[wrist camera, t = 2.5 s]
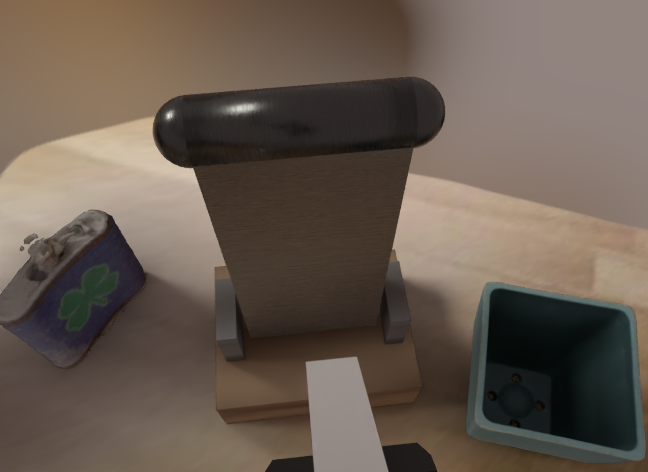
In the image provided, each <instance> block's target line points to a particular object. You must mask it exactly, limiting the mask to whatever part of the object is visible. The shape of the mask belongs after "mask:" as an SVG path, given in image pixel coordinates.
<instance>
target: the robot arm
mask: <svg viewBox="0 0 648 472" xmlns="http://www.w3.org/2000/svg"><path fill="white" fill-rule="evenodd" d="M306 371H307V384H308V397H309V410H310V423H311V436H312V448H313V456H305V457H296V458H287V459H278V460H272V461H271V463H270V465H269V466H268V468H267V470H266V471H265V472H437V469H436V466H435V464H434V462H433V459H432V457H431V455H430V454H429V453H428V452H427V451H426V450H425V449H424V448H422V447H421V446H420V445H419V444H418V443H409V444H400V445H391V446H382V447H381V443H380V439H379V436H378V432H377V428H376V425H375V421H374V417H373V414H372V410H371V407H370V403H369V399H368V396H367V392H366V388H365V385H364V381H363V377H362V374H361V370H360V366H359V363H358V359H357V357H348V358H338V359H329V360H319V361H309V362H306Z"/></svg>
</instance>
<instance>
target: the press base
mask: <svg viewBox="0 0 648 472" xmlns="http://www.w3.org/2000/svg"><path fill="white" fill-rule="evenodd" d="M410 321H411V318H410V313H409V308H408V303H407V298H406V293H405V288H404V283H403V279H402V274H401V269H400V264H399V261H397V257H396V252H395V250H392V252H391V256H390V261H389V266H388V270H387V275H386V280H385V285H384V289H383V294H382V299H381V304H380V308H379V313H378V318H377V322H376V325H374V326H365V327H355V328H346V329H336V330H327V331H317V332H308V333H298V334H289V335H279V336H270V337H260V338H251V337H250V334H249V331H248V328H247V325H246V322H245V319H244V316H243V314H242V311H241V308H240V305H239V302H238V299H237V296H236V293H235V290H234V287H233V284H232V281H231V278H230V275H229V272H228V269H227V266H222V267H215V338H216V410H217V411H218V413H219V414H220V416H221V417H222V418H223V420H224V421H225V422H226V424H227V423H236V422H244V421H253V420H262V419H271V418H280V417H289V416H297V415H306V414H310V410H309V397H308V384H307V371H306V362H309V361H319V360H329V359H338V358H348V357H357V359H358V363H359V366H360V370H361V374H362V377H363V381H364V385H365V388H366V392H367V396H368V399H369V403H370V407H377V406H386V405H395V404H403V403H412V402H414V401H415V399H416V397H417V395H418V394H419V392H420V390H421V388H422V383H421V378H420V373H419V368H418V363H417V358H416V353H415V348H414V343H413V338H412V333H411V328H410Z"/></svg>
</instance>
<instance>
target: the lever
mask: <svg viewBox="0 0 648 472" xmlns="http://www.w3.org/2000/svg"><path fill="white" fill-rule="evenodd" d="M444 119H445V105H444V100H443V98H442V96H441V94H440V92H439V91H438V90H437V88H436V87H435V86H434V85H432V84H431V83H430V82H428V81H426V80H424V79H422V78H417V77H399V78H386V79H375V80H361V81H351V82H350V81H349V82H338V83H325V84H313V85H300V86H288V87H276V88H265V89H251V90H240V91H227V92H215V93H203V94H190V95H182V96H178V97H175V98H173V99H171V100H169V101H168V102H166V103H165V104H164V105H163V106H162V107H161V108H160V109H159V111H158V113H157V114H156V116H155V119H154V123H153V137H154V141H155V144H156V146H157V148H158V150H159V151H160V153H161V154H162V155H163V156H164V157H165V158H166V159H167V160H169V161H170V162H172V163H173V164H175V165H178V166H180V167H185V168H193V169H194V171H195V174H196V177H197V180H198V183H199V186H200V189H201V192H202V195H203V198H204V201H205V204H206V207H207V210H208V213H209V216H210V219H211V222H212V225H213V228H214V231H215V234H216V237H217V240H218V243H219V245H220V248H221V251H222V254H223V257H224V260H225V263H226V266H227V269H228V272H229V275H230V278H231V281H232V284H233V287H234V290H235V293H236V296H237V299H238V302H239V305H240V308H241V311H242V314H243V316H244V319H245V322H246V325H247V328H248V331H249V334H250V337H251V338H260V337H270V336H279V335H289V334H298V333H308V332H317V331H327V330H336V329H346V328H355V327H365V326H374V325H376V322H377V318H378V313H379V308H380V304H381V299H382V294H383V289H384V285H385V280H386V275H387V270H388V266H389V261H390V256H391V252H392V247H393V242H394V237H395V233H396V228H397V223H398V218H399V214H400V209H401V204H402V200H403V195H404V190H405V185H406V181H407V176H408V171H409V166H410V162H411V157H412V152H413V148H418V147H421V146H424V145H426V144H427V143H429V142H430V141H432V140H433V139H434V138H435V137H436V136H437V134H438V133H439V131H440V130H441V128H442V125H443V122H444Z"/></svg>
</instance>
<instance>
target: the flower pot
mask: <svg viewBox="0 0 648 472" xmlns="http://www.w3.org/2000/svg"><path fill="white" fill-rule="evenodd" d="M638 356H639V354H638V340H637V323H636V316H635V313H634V311H633V309H632V308H631V307H630V306H626V305H622V304H618V303H611V302H606V301H599V300H593V299H587V298H580V297H574V296H568V295H563V294H558V293H552V292H546V291H541V290H535V289H529V288H524V287H519V286H514V285H510V284H505V283H500V282H488V283H486V284H485V286H484V289H483V292H482V296H481V299H480V303H479V306H478V310H477V314H476V318H475V322H474V330H473V343H472V356H471V370H470V383H469V395H468V407H467V418H466V432H467V434H468V435H469V436H470V437H471V438H474V439H477V440H482V441H487V442H492V443H496V444H501V445H506V446H510V447H515V448H520V449H525V450H529V451H534V452H539V453H543V454H548V455H553V456H557V457H562V458H566V459H571V460H575V461H580V462H584V463H592V464H602V463H619V462H632V461H641V460H643V459H644V457H645V453H646V440H645V430H644V419H643V411H642V398H641V386H640V373H639V357H638ZM514 375H517V376H518V377H519V378H520V380H519V382H514V381H513V379H512V377H513V376H514ZM489 393H493V394H494V395H495V399H494V400H490V399H489V397H488V394H489ZM536 402H540V403H541V404H542V405H543V408H542V409H541V410H538V409H537V408H536V407H535V403H536ZM511 421H516V422H517V423H518V427H512V426H511Z"/></svg>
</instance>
